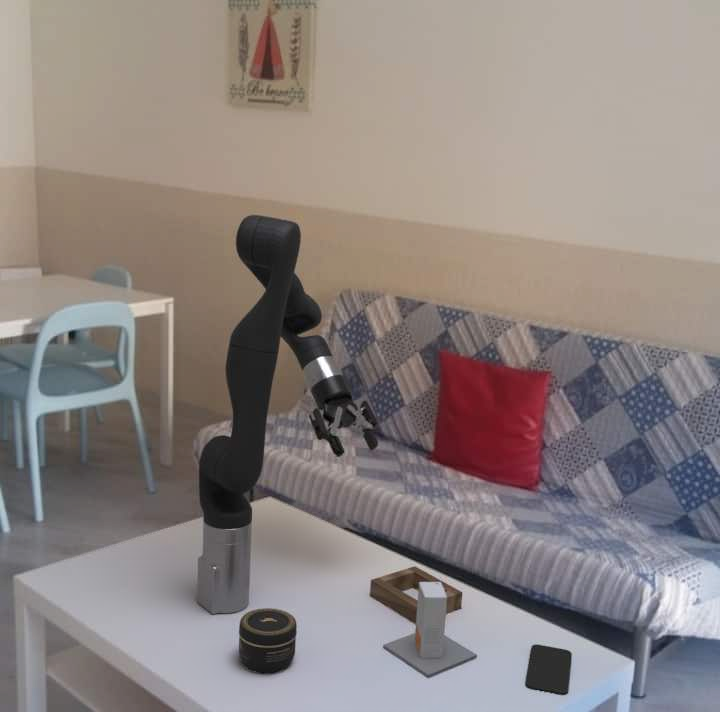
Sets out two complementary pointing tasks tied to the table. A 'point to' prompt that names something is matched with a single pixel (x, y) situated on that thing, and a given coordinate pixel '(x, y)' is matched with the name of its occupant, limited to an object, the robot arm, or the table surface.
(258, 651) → the jar
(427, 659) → the rubber mat
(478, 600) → the table surface
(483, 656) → the table surface
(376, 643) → the table surface
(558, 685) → the phone
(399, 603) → the brown wooden rectangular frame
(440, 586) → the skincare box
